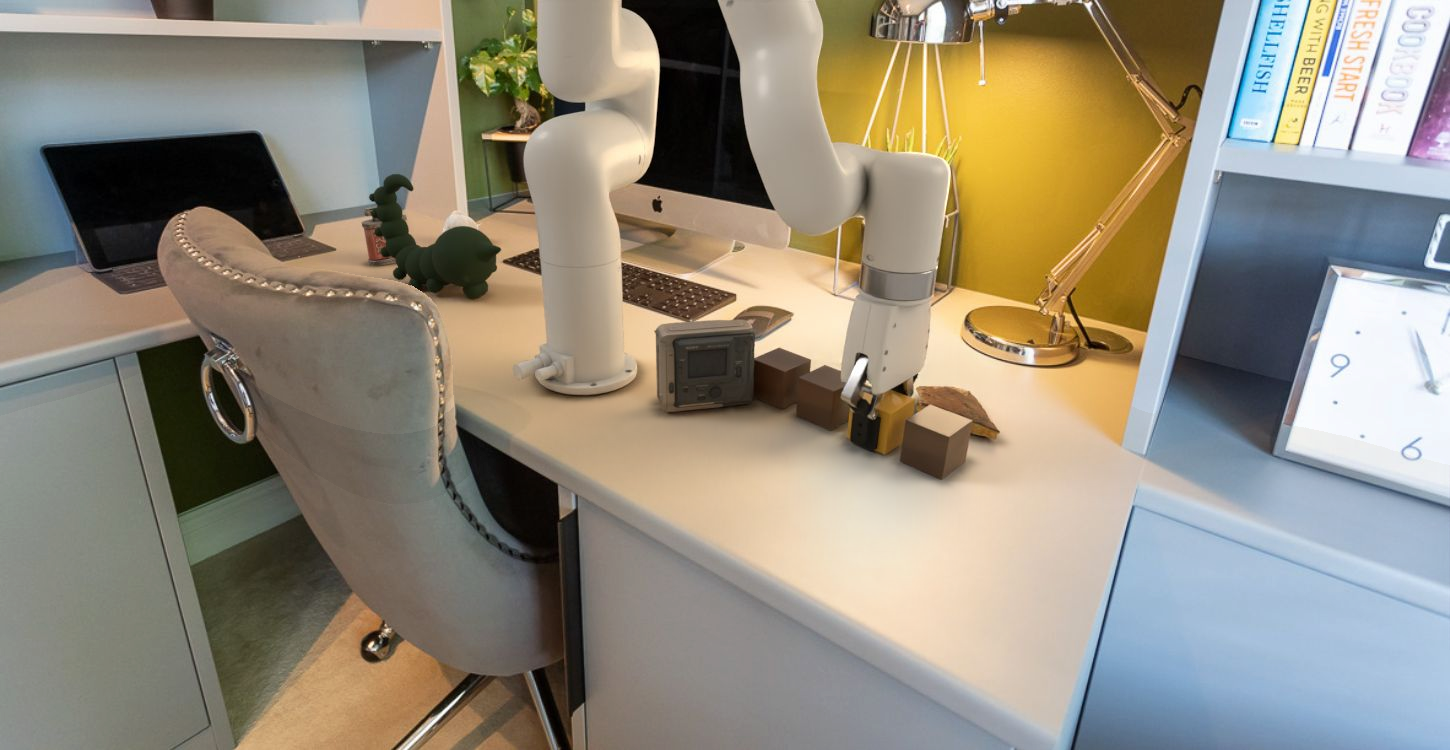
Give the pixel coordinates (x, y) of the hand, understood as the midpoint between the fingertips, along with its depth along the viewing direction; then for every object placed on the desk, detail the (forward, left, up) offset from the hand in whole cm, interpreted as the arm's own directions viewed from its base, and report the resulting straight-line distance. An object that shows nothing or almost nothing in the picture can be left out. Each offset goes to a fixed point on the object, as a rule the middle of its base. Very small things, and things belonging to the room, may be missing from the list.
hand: (878, 435), depth 87 cm
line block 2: (0, +7, 0) cm, 7 cm away
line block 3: (0, -7, 0) cm, 7 cm away
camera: (-8, +19, -1) cm, 21 cm away
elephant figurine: (+6, +98, -1) cm, 98 cm away
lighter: (-9, +97, -1) cm, 98 cm away
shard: (+12, -4, -1) cm, 13 cm away
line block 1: (0, +14, 0) cm, 14 cm away
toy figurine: (-10, +76, -1) cm, 77 cm away
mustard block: (0, 0, 0) cm, 0 cm away
